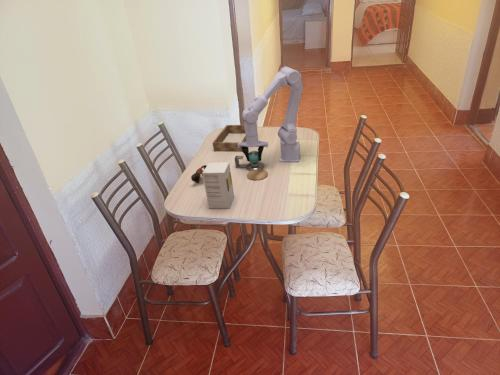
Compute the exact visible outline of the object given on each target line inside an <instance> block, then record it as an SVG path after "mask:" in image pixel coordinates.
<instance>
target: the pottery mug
mask: <svg viewBox="0 0 500 375" xmlns="http://www.w3.org/2000/svg"><path fill="white" fill-rule="evenodd" d="M206 166H207V164H205V165H202V166H200V167H199V168H197V170H196V171H195V172H194V173H193V174H192V175H191V177H190V179H191V181H192V182H194V183H196V184H199V183H200V179H201V177H203V175H202V173H203V171H204V170H205V168H206ZM203 169H204V170H203Z"/></svg>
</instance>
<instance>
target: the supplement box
mask: <svg viewBox="0 0 500 375" xmlns="http://www.w3.org/2000/svg"><path fill="white" fill-rule="evenodd" d="M206 165H207V166H206V168H205V169H204V170H203V173H202V174H201V176H202V175H203V176H202V180H203V184H204V189H205V194H206V199H207V205H208V209H231V206H232V204H233V201H234V199H235V194H234V185H233V181H232V180H233V179H232V173H231V165H230V162H228V161H227V162H225V161H224V162H222V161H221V162H207V164H206Z"/></svg>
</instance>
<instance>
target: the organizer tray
mask: <svg viewBox="0 0 500 375" xmlns="http://www.w3.org/2000/svg"><path fill="white" fill-rule="evenodd" d="M229 134H245V125H244V124H226V125H225V126H224V128H223V129H222V130H221V131H220V133H219V134H218V135H217V137H216V138H215V139H214V140H213V142H212V147H213V152H230V153H231V152H236V153H237V152H238V153H239V152H242V147H240V148H238V145H237V144H238V143H240V142H239V141H238V142H234V141H233V142H227V141H226V142H225V139H226V138H227V137H226V136H228V135H229ZM241 142H246V135H245V136H244V137H243V139H242V140H241ZM242 153H243V152H242Z"/></svg>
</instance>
